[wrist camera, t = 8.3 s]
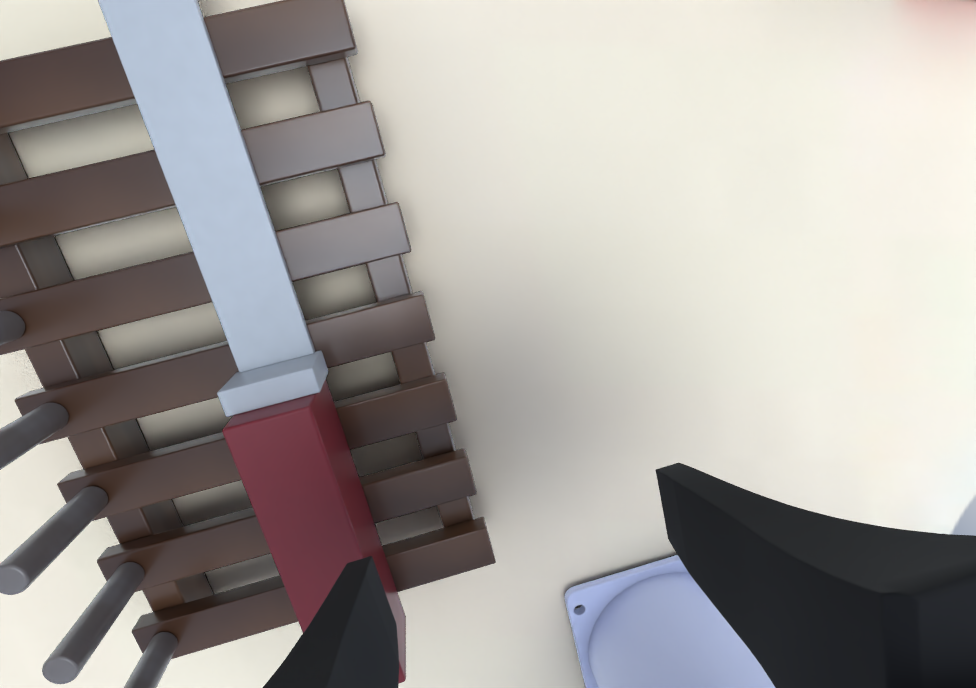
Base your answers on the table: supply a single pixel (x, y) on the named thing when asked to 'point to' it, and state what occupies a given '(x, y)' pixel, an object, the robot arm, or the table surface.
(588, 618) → the robot arm
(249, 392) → the knife
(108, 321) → the drying rack
